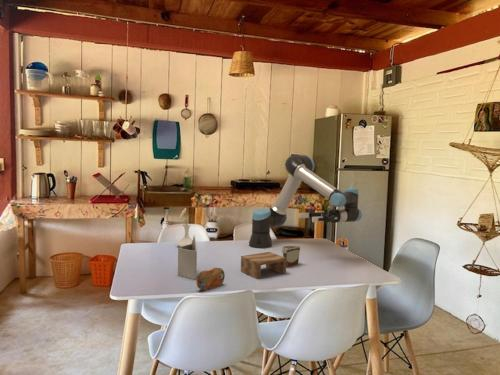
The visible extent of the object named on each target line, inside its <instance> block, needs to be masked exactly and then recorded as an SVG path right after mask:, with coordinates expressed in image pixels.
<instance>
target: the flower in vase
mask: <svg viewBox="0 0 500 375" xmlns="http://www.w3.org/2000/svg"><path fill="white" fill-rule="evenodd" d="M186 212H187V208H186V207H184V209H182V211H181V213H180V216H179V218H178V219H179V220H181V219H182V218H183V217H185V220H184V224H182V227H183V228H184V236H183V237H182V238H181V239H180V240H179V241H178V242H177V246H178V247H182V246H186V245H189V244H191V243H192V241H193V238H191V237H190V236H189V235H190V234H189V230H190V228H191V225H192V224H188V223H189V220H188V218H187V216H186Z"/></svg>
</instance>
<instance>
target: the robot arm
mask: <svg viewBox="0 0 500 375" xmlns="http://www.w3.org/2000/svg"><path fill="white" fill-rule="evenodd" d="M315 167H316V164H315V161H314V159H313V158H312V157H311V156H309V155H304V154H303V155H300V154H292V155H291V156H288V157H287V158H286V160H285V162H284V168H285V170H286V171H287V173H288V174H289V175H288V177H287V179H286V181H285V183H284V185H283V187H282V189H281V191H280V193H279V195H278V197H277V198H276V201H275V203H272V204H271V205H270V207H269V208H258V209H254V211H252V216H251V220H252V221H251V224H252V225H251V235H250V237H249V238H250V239H249V241H248V246H249V247H251V248H256V249H267V248H272V247H273V241H272V237H271V229H273V228H279V227H281V226H284V224H285V223H286V222H287V218H288V217H287V214H288V211H287V209H288V207H289V206H290V203H291V202H292V199H293V198H294V196H295V194H296V192H297V191H298V189H299V186H300V185H301V182H304V183H305V184H306V185H307V186H308V187H310V188H311V189H313V190H315V191H316V192H318V193H319V194H320V195H322V196H323V197H325V198H326V199H328V200H329V202H330V203H331V205H332V206H333V207H335V209H330V210H329V211H328V212H327V211H326V212H318V211H317V212H315V211H314V212H312V211H311V212H310V211H306V212H300V213H298V219H309V218H311V222H312V223H322V222H324V223H331V224H334V223H336V224H337V223H340V224H342V223H351V222H353V223H354V222H359V221H360V220H362V217H363V213H362V210H361V209H360V208H359V189H358V188H356V187H355V188H354V187H346V188H345V190H344V191H343V192H342V191H341V190H340V189H338V188H336V187H335V186H333V185H332V184H331V183H329V182H327V181H326V180H325V179H323V178H322V177H320V176H319V175H318V174H316V173H315V172H314V170H315ZM342 207H344V208H342ZM336 208H337V209H336Z"/></svg>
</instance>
